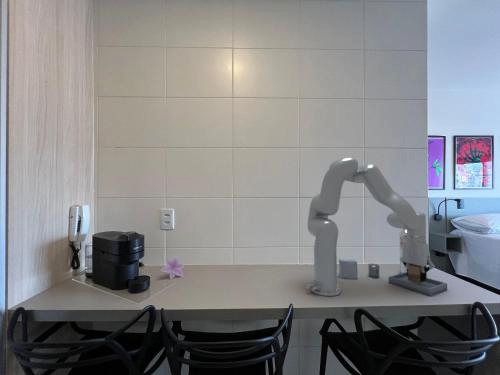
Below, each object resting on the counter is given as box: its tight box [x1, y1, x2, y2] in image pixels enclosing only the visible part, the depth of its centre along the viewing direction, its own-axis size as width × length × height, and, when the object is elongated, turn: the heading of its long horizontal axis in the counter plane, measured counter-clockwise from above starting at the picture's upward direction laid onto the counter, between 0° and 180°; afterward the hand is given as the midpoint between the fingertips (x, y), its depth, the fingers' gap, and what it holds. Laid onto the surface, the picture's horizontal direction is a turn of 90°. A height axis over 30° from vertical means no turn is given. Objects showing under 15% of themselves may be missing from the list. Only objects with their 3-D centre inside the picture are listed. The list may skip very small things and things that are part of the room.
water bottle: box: [399, 229, 407, 273], centre depth 135 cm, size 7×7×25 cm
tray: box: [388, 272, 448, 297], centre depth 116 cm, size 14×18×3 cm
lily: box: [160, 254, 185, 280], centre depth 131 cm, size 12×12×10 cm
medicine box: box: [338, 258, 358, 280], centre depth 129 cm, size 8×4×9 cm, turn 84°
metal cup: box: [367, 263, 380, 279], centre depth 129 cm, size 5×5×6 cm
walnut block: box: [408, 264, 425, 283], centre depth 116 cm, size 5×5×7 cm
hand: (416, 278), depth 116 cm, fingers closed on walnut block, 4 cm apart
